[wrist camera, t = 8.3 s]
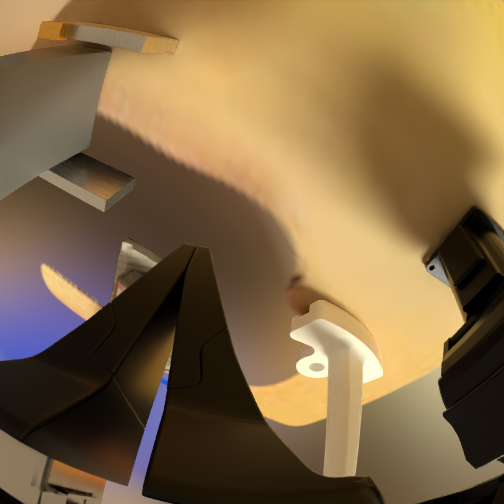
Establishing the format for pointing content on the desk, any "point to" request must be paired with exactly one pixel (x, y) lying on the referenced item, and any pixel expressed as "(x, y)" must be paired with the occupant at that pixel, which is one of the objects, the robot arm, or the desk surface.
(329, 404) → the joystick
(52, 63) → the grey rectangular block
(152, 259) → the packaged product
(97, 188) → the rack bay
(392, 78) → the desk surface
